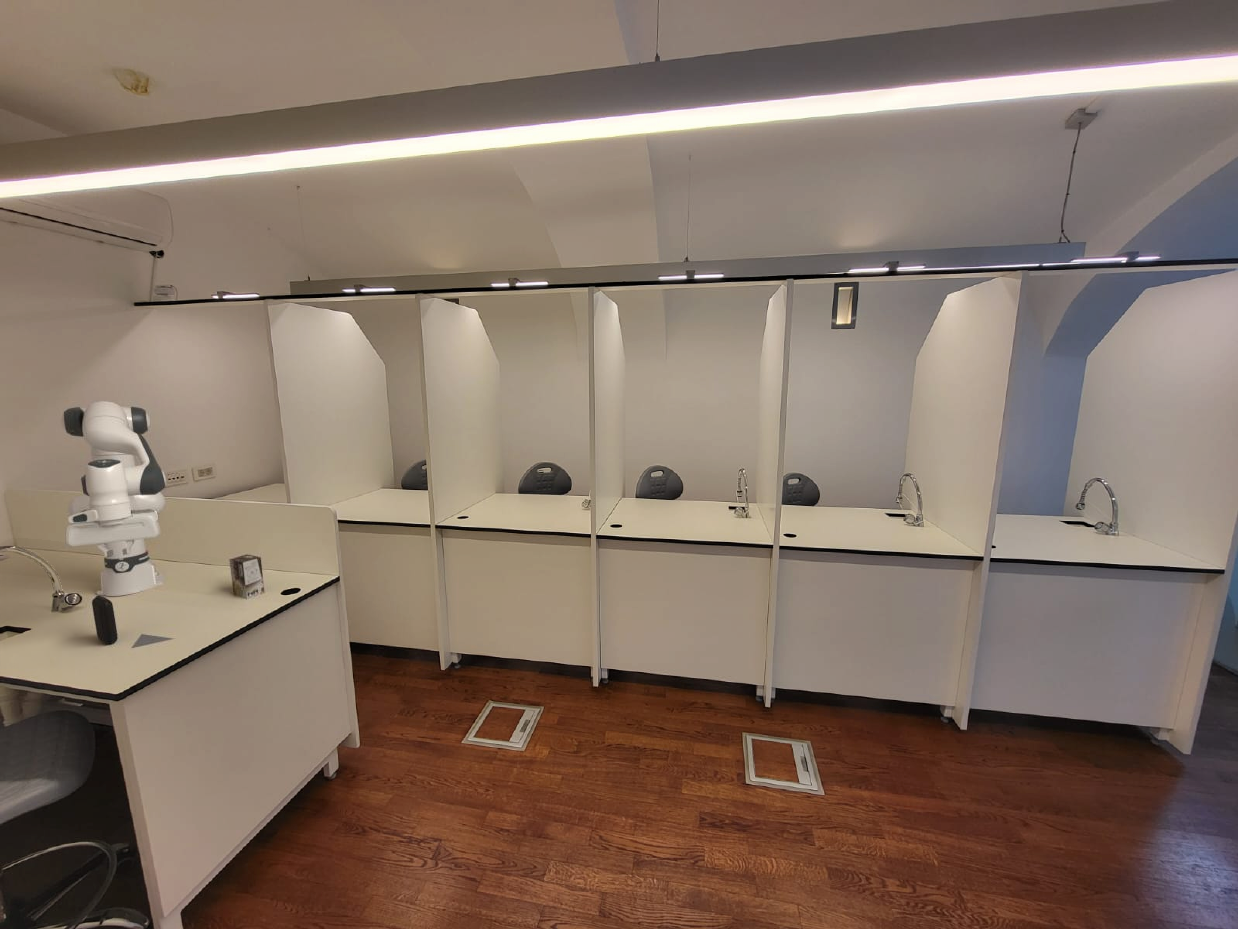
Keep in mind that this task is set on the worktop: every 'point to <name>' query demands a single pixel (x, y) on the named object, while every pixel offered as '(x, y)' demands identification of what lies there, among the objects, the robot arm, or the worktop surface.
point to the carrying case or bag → (104, 620)
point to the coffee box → (247, 576)
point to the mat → (149, 640)
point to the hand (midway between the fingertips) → (118, 555)
